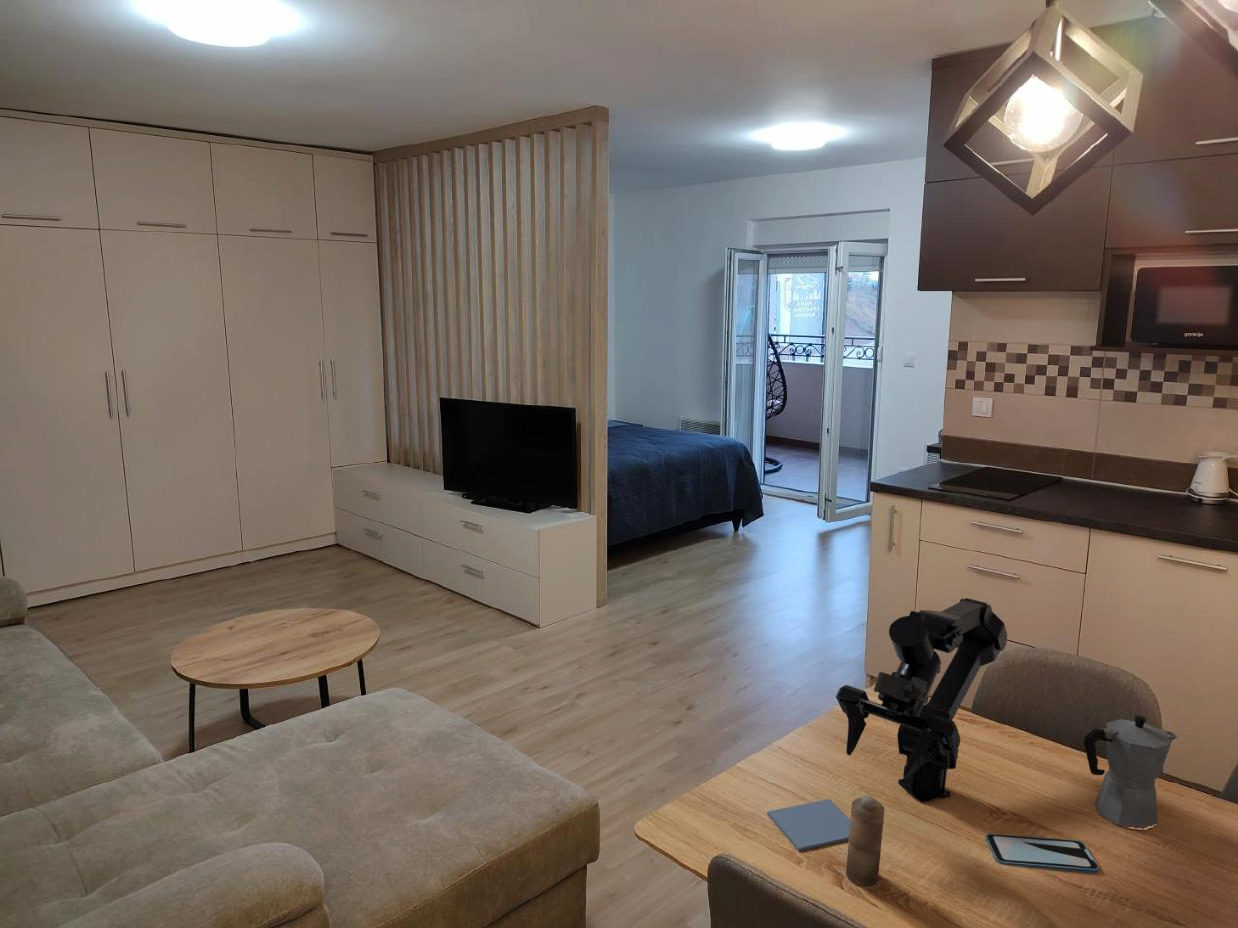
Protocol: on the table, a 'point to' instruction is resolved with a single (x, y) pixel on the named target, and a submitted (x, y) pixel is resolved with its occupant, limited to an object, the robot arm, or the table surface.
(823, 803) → the placemat
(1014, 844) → the smartphone
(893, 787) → the table surface
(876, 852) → the pepper mill
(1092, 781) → the table surface
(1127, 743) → the coffeepot
